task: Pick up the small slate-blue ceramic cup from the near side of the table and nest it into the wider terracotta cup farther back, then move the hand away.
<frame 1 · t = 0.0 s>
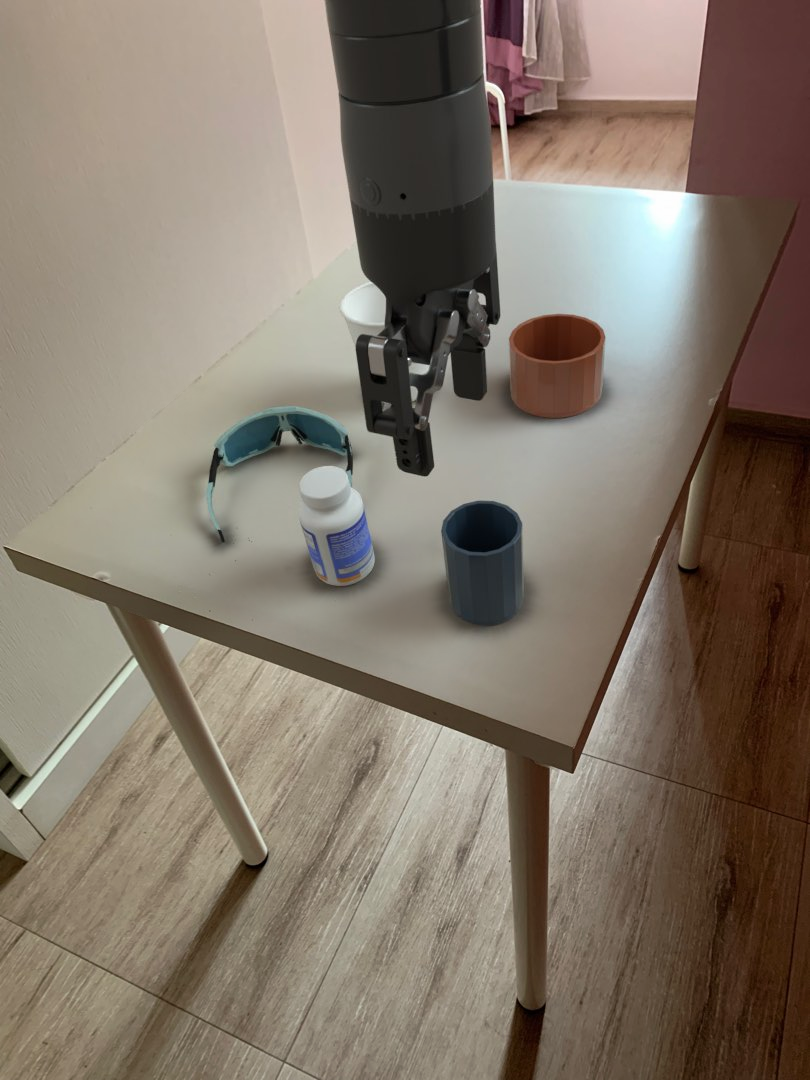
hand: (445, 431, 53), 18 cm above the table, tool pointing down, fingers open, 8 cm apart
cup: (400, 392, 90), on the table
pill bottle: (345, 567, 71), on the table
terracotta cup: (555, 391, 86), on the table
slate cup: (486, 597, 66), on the table
sunglasses: (285, 490, 80), on the table
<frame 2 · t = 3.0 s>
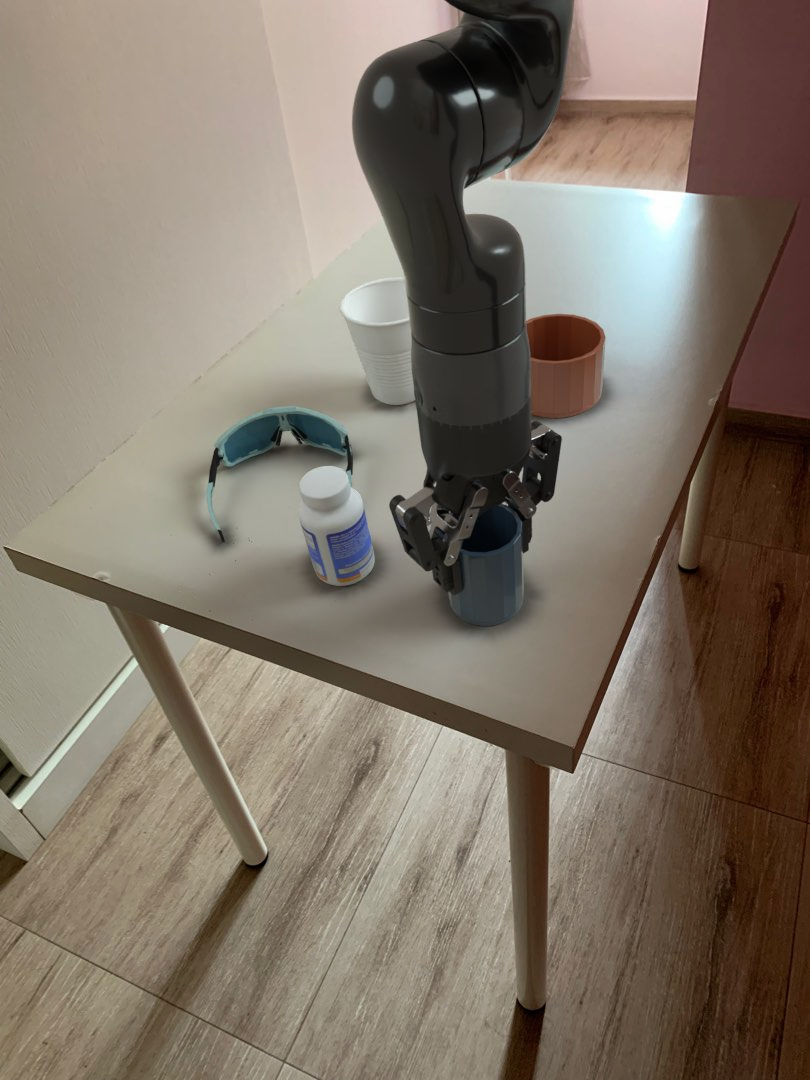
hand: (484, 566, 64), 4 cm above the table, tool pointing down, fingers closed on slate cup, 6 cm apart
slate cup: (486, 597, 66), on the table, touching gripper
everything else where it was.
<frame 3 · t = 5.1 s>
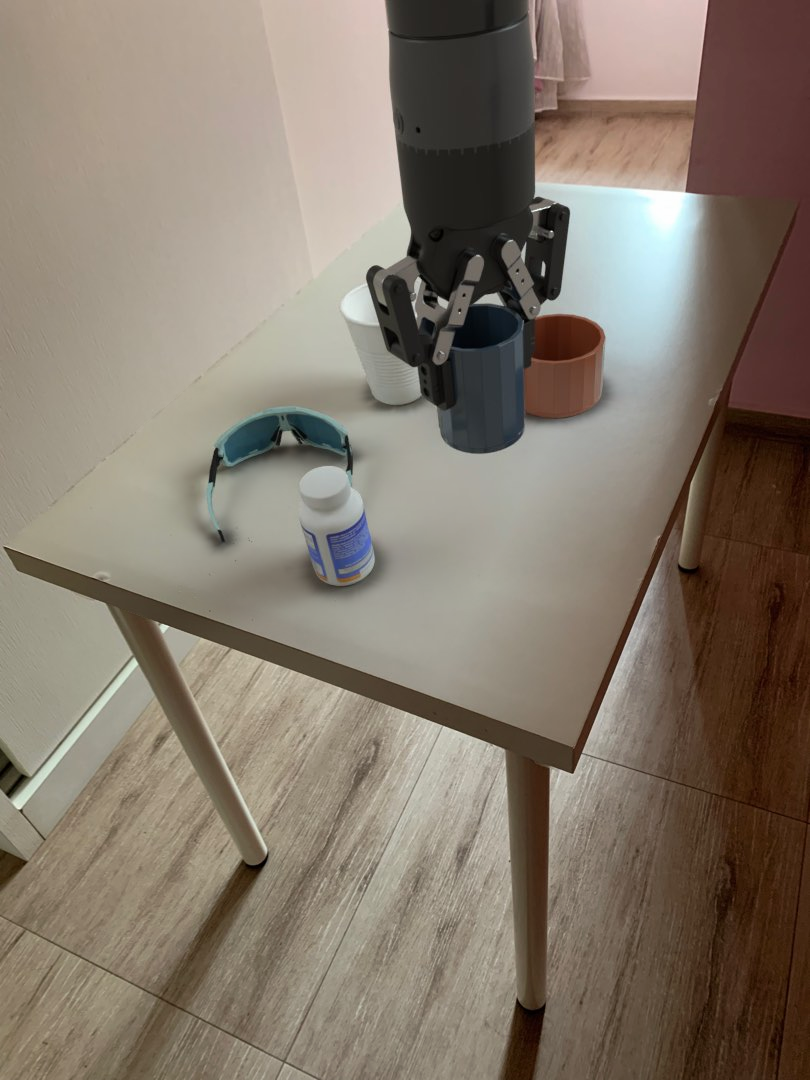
hand: (480, 383, 55), 19 cm above the table, tool pointing down, fingers closed on slate cup, 6 cm apart
slate cup: (482, 427, 57), point 15 cm above the table, touching gripper
everything else where it was.
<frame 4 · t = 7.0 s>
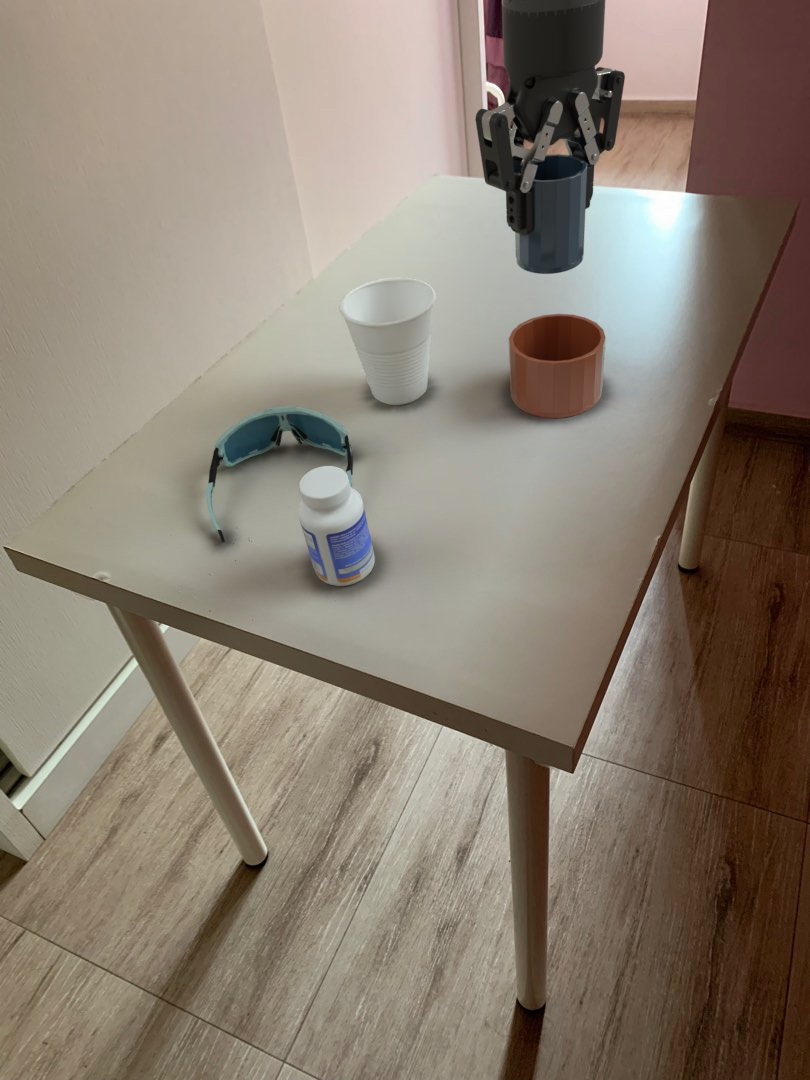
hand: (550, 218, 71), 20 cm above the table, tool pointing down, fingers closed on slate cup, 6 cm apart
slate cup: (549, 258, 73), point 16 cm above the table, touching gripper
everything else where it was.
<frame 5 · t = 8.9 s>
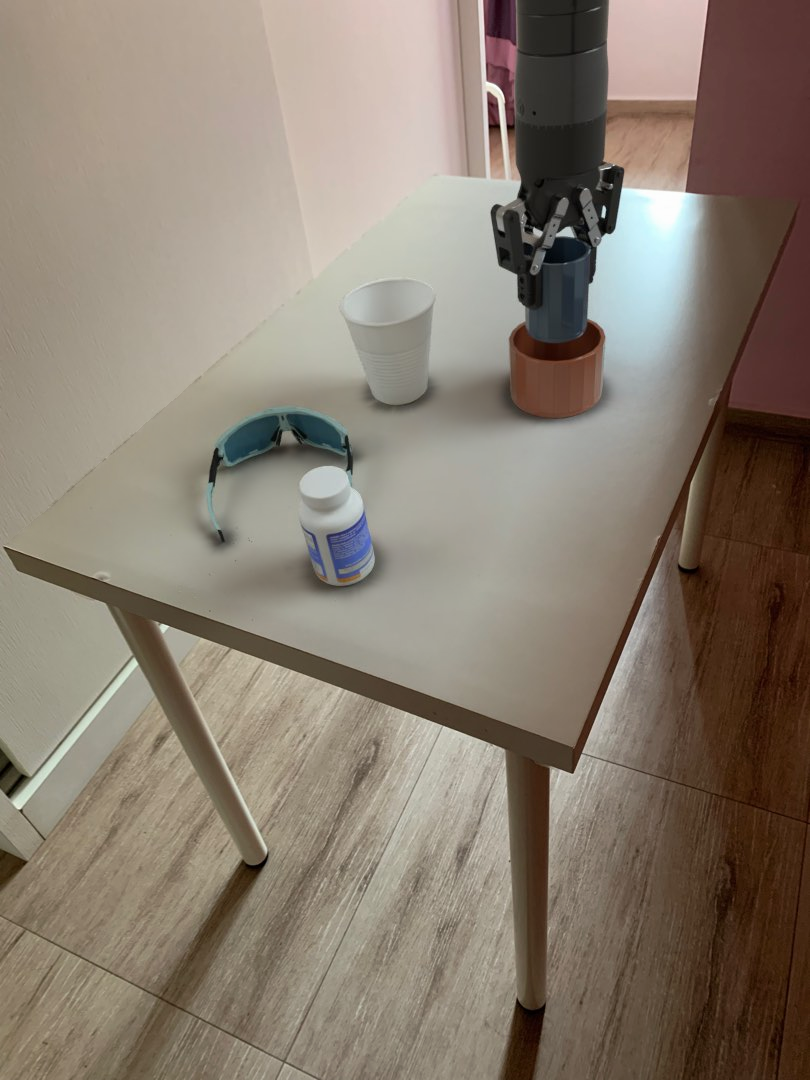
hand: (557, 293, 78), 11 cm above the table, tool pointing down, fingers closed on slate cup, 6 cm apart
slate cup: (556, 327, 81), point 8 cm above the table, touching gripper
everything else where it was.
when the fingers open (7 cm above the table, at t = 10.8 s): slate cup drops 3 cm, resting on terracotta cup.
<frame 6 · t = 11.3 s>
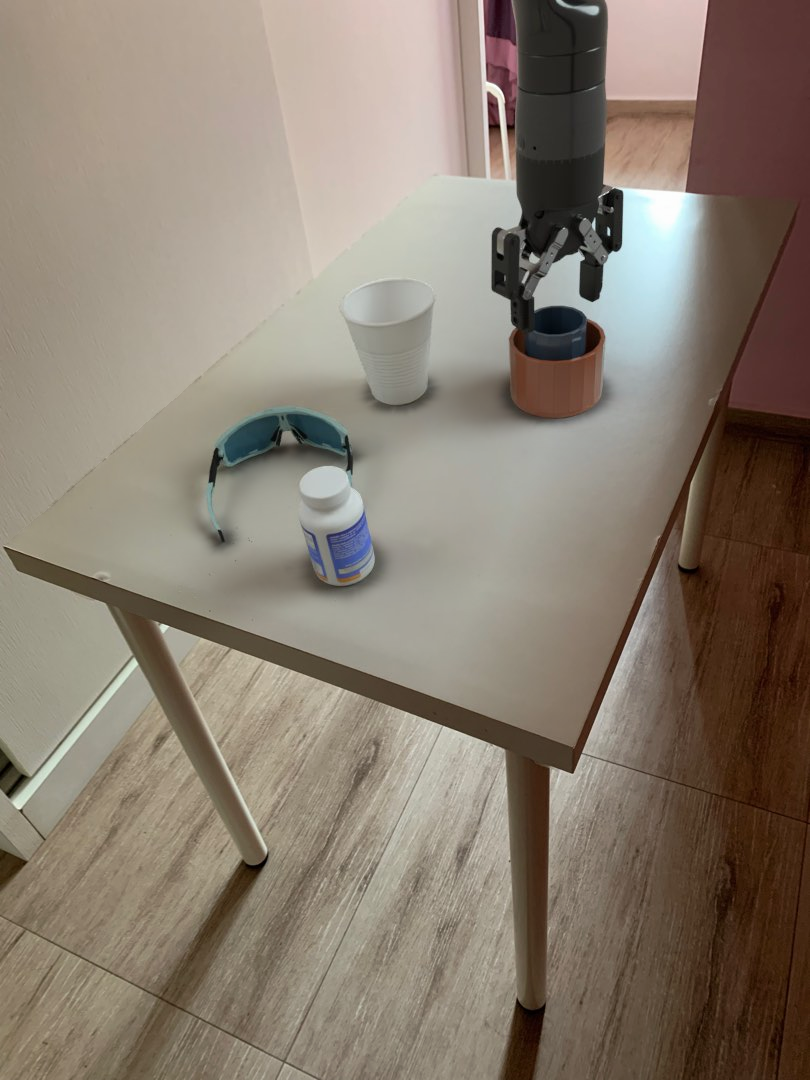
hand: (557, 313, 80), 9 cm above the table, tool pointing down, fingers open, 8 cm apart
slate cup: (554, 388, 86), resting on terracotta cup
everything else where it was.
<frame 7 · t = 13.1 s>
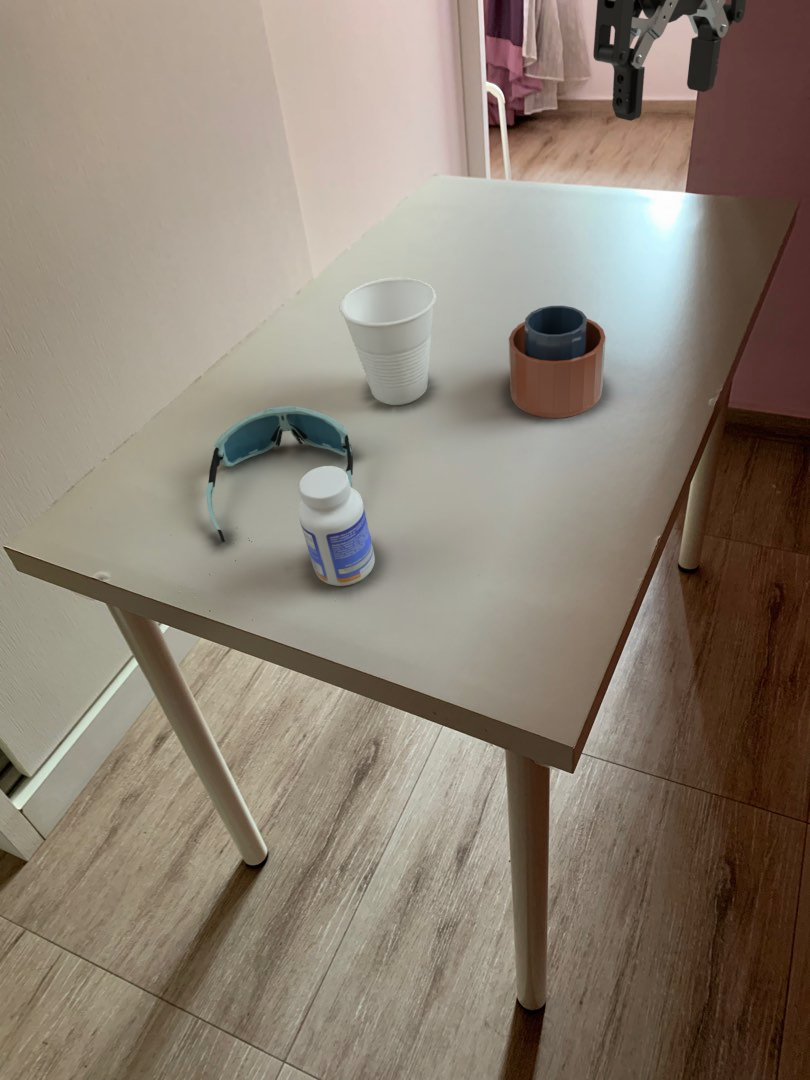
hand: (664, 103, 66), 27 cm above the table, tool pointing down, fingers open, 8 cm apart
nothing on the table moved.
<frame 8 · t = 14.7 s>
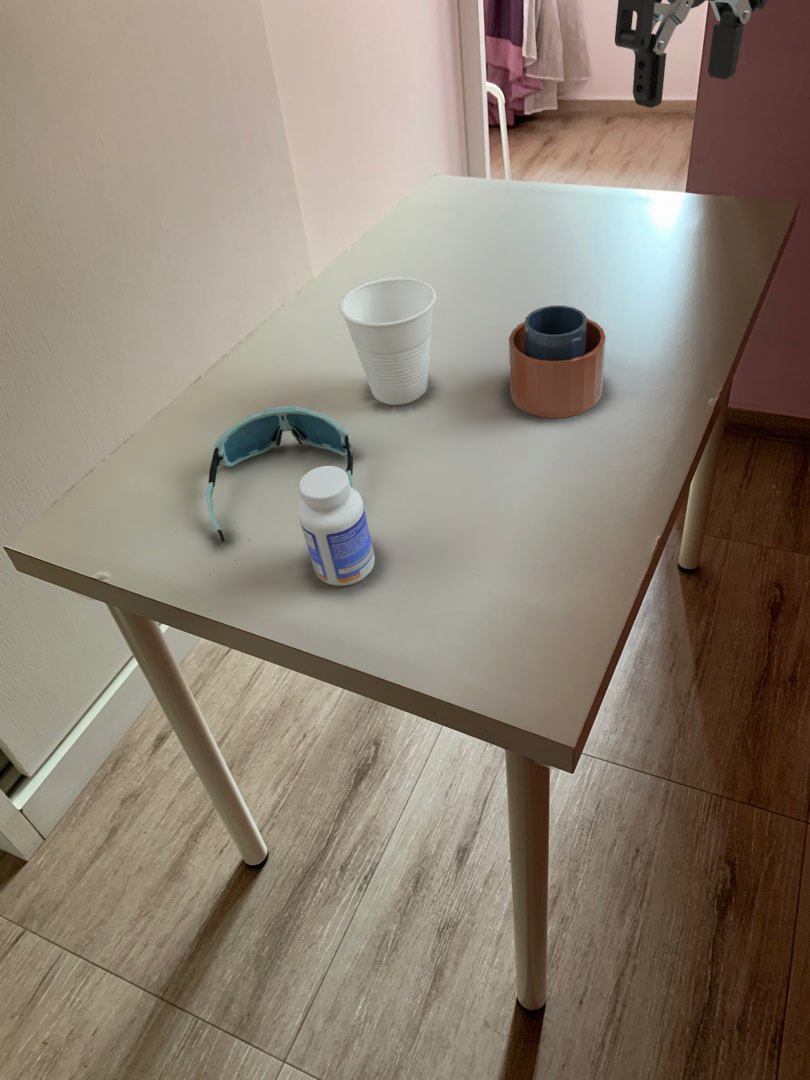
hand: (685, 90, 66), 28 cm above the table, tool pointing down, fingers open, 8 cm apart
nothing on the table moved.
at the end: slate cup 0.2 cm off-centre in the terracotta cup, point 0.5 cm above the terracotta cup's base; slate cup tilted 0°; the gripper is holding nothing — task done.
